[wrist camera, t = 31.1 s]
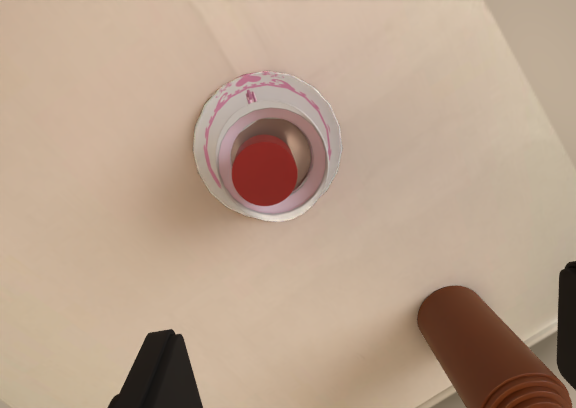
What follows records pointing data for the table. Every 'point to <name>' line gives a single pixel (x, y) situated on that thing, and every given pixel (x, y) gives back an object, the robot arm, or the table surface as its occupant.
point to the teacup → (276, 122)
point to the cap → (264, 170)
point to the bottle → (485, 354)
